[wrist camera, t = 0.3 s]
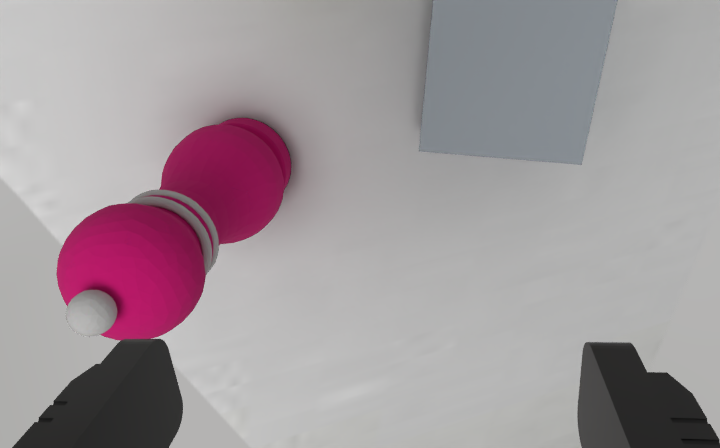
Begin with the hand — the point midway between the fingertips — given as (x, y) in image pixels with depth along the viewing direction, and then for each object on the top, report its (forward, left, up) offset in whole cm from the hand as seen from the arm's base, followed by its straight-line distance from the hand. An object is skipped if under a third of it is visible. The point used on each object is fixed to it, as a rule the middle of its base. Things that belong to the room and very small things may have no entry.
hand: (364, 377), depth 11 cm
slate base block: (-2, +5, -28) cm, 28 cm away
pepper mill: (+6, -11, -28) cm, 30 cm away
